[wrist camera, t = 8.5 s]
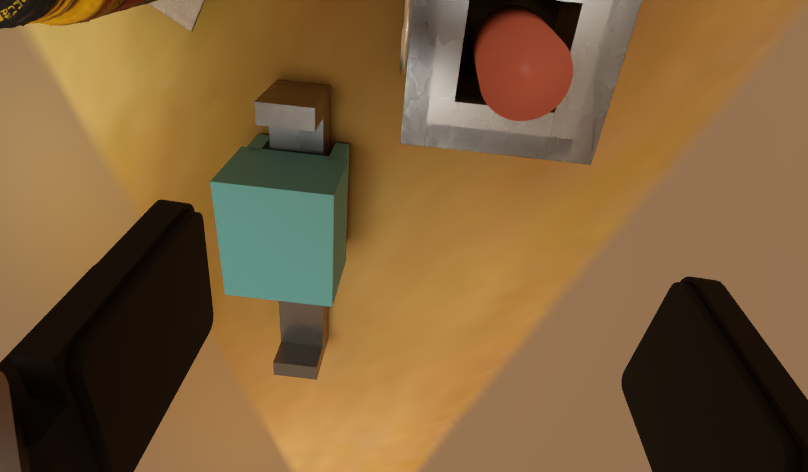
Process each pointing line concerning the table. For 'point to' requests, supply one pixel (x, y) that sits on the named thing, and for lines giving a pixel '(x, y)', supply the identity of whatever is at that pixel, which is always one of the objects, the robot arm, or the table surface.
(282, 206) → the carriage
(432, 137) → the frame
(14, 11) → the condiment
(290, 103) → the rail
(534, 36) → the cylinder
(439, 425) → the table surface
